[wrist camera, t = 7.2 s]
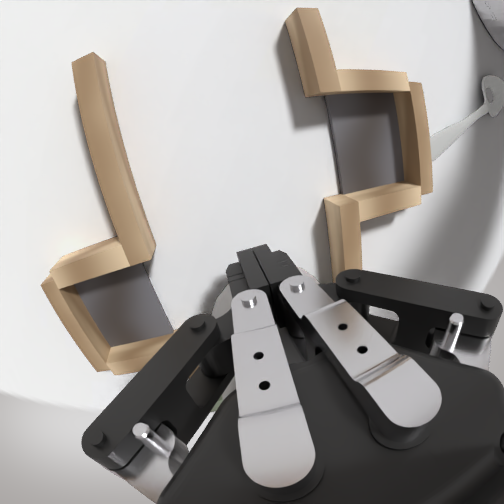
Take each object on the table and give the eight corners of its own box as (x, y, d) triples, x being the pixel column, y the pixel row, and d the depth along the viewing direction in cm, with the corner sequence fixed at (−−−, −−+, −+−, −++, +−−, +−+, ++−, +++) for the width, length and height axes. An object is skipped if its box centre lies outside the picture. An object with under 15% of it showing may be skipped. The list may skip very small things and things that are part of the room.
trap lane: (386, 27, 11) (414, 17, 9) (406, 311, 21) (426, 329, 19) (6, 119, 9) (-23, 120, 7) (136, 395, 19) (133, 423, 17)
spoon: (501, 102, 15) (513, 104, 14) (397, 205, 17) (412, 212, 16) (489, 67, 14) (501, 68, 12) (375, 156, 16) (391, 159, 14)
